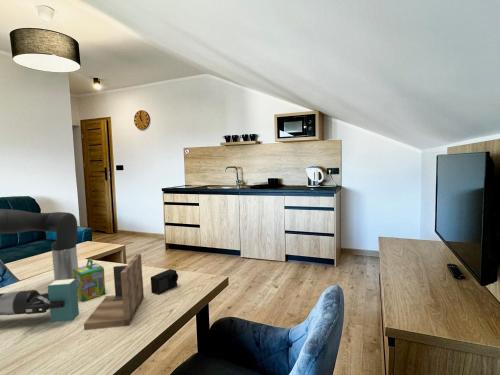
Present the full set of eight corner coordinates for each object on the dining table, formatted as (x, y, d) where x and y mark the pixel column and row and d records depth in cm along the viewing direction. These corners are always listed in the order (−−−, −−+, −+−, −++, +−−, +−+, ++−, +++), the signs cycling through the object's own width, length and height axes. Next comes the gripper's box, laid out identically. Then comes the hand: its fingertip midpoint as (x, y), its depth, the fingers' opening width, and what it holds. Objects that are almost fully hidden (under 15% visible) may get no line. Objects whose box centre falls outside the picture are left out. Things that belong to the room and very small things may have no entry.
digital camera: (160, 296, 116) (159, 279, 115) (151, 293, 119) (150, 276, 118) (179, 286, 124) (178, 270, 124) (170, 283, 127) (169, 268, 127)
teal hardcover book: (58, 315, 102) (55, 280, 101) (79, 313, 103) (76, 278, 102) (51, 322, 98) (47, 285, 97) (72, 320, 99) (69, 283, 98)
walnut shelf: (106, 300, 113) (103, 256, 111) (143, 297, 114) (140, 253, 113) (84, 329, 93) (79, 275, 91) (129, 325, 95) (125, 272, 93)
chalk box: (74, 296, 118) (71, 261, 117) (97, 288, 125) (95, 255, 124) (82, 302, 112) (79, 265, 111) (106, 294, 119) (103, 259, 118)
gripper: (2, 301, 91) (58, 297, 93) (31, 283, 105) (78, 279, 107) (5, 324, 91) (60, 319, 93) (33, 303, 106) (80, 299, 108)
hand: (70, 298), depth 100 cm, fingers open, 7 cm apart
